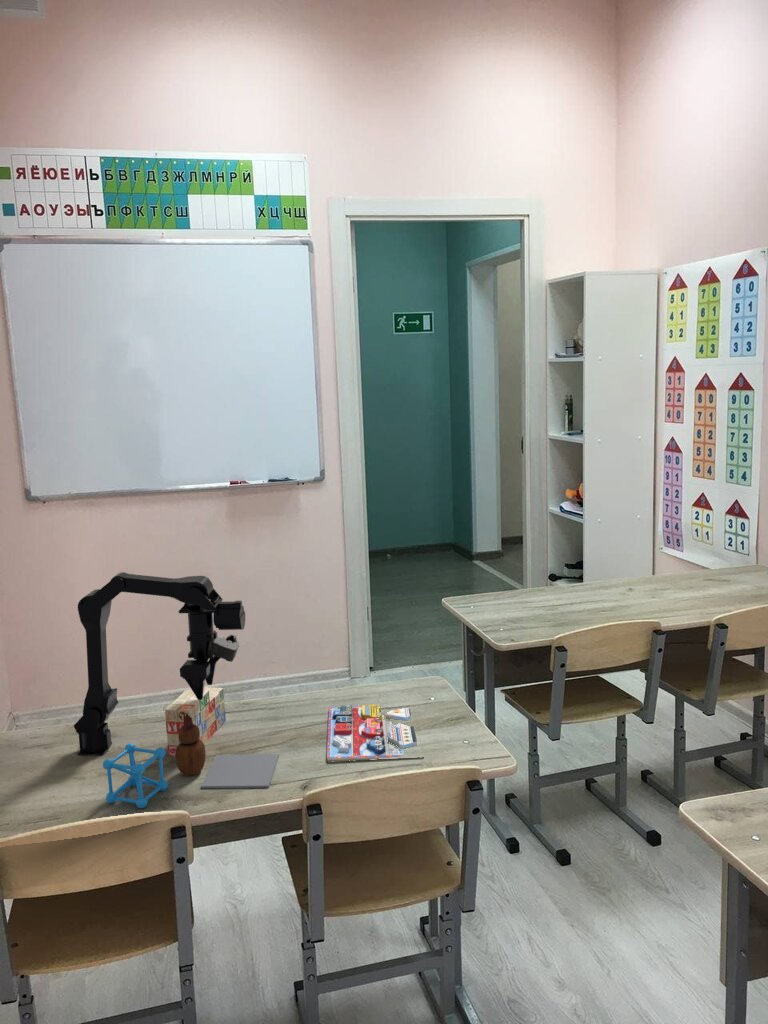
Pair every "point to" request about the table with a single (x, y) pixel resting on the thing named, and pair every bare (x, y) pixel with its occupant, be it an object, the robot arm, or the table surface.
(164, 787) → the molecular structure
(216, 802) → the table surface
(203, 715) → the stack of blocks
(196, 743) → the wooden figurine
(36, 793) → the table surface
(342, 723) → the puzzle board
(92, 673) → the robot arm
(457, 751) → the table surface
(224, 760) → the felt mat
